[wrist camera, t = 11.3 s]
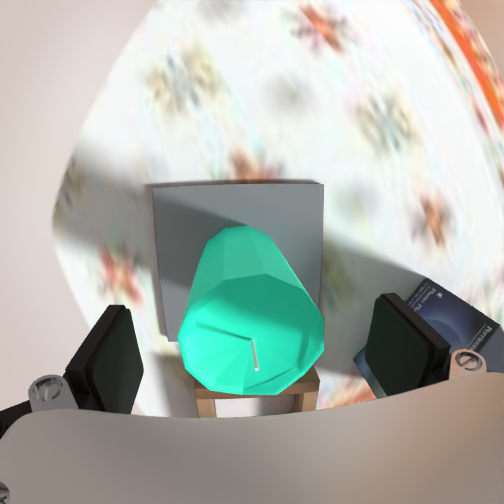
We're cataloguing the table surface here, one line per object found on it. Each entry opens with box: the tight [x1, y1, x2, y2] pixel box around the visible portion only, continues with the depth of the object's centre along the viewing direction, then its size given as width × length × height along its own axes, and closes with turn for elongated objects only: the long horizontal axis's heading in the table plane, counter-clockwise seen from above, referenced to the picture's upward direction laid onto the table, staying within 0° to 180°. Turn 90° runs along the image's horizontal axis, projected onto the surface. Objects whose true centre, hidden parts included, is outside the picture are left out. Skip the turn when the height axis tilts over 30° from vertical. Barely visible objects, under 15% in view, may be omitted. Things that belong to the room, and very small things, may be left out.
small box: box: [353, 278, 504, 399], centre depth 20 cm, size 11×6×10 cm, turn 140°
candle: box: [177, 225, 324, 395], centre depth 16 cm, size 6×6×12 cm
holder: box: [194, 365, 320, 418], centre depth 24 cm, size 10×10×3 cm
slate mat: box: [152, 184, 324, 342], centre depth 22 cm, size 12×12×1 cm
